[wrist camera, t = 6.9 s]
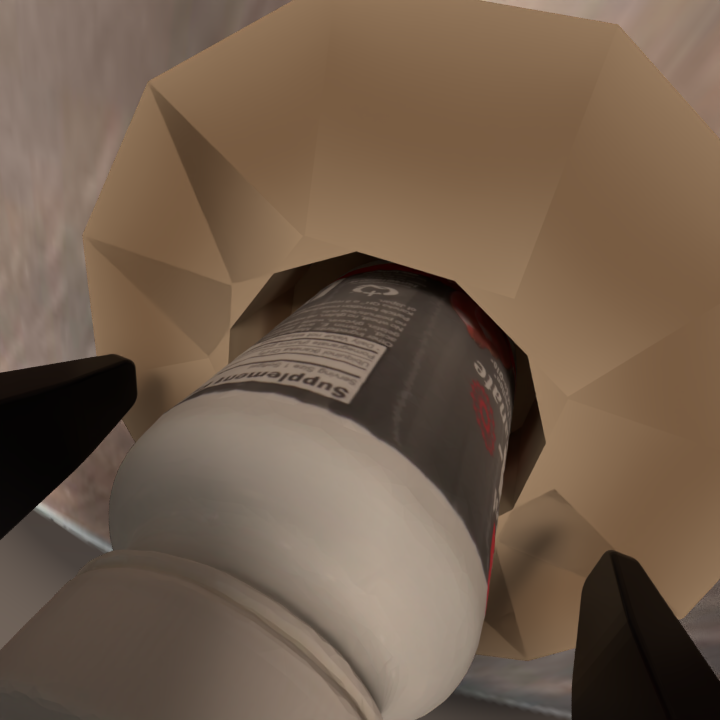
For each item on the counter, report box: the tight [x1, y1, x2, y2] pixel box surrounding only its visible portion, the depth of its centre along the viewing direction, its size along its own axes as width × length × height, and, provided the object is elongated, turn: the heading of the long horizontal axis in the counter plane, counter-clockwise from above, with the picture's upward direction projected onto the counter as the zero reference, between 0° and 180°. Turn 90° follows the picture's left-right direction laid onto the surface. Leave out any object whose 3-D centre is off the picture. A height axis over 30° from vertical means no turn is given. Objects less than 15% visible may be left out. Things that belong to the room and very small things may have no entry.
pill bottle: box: [0, 259, 517, 720], centre depth 8 cm, size 5×5×10 cm
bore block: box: [82, 0, 720, 661], centre depth 12 cm, size 14×14×4 cm
